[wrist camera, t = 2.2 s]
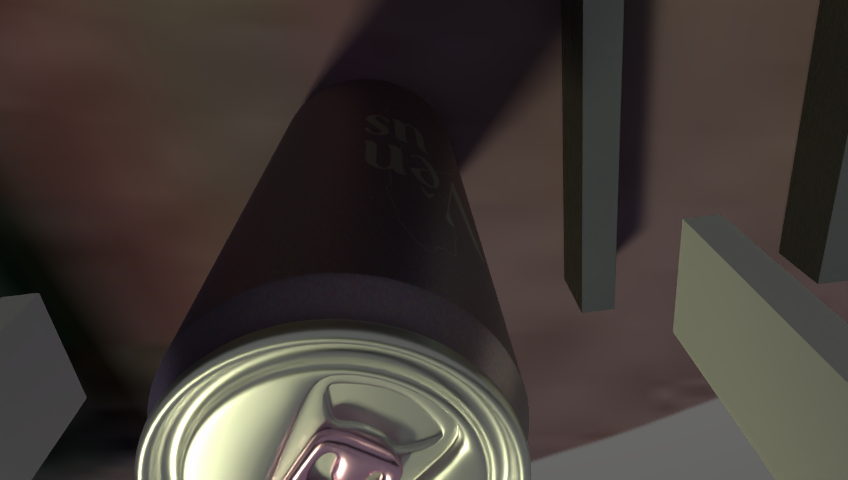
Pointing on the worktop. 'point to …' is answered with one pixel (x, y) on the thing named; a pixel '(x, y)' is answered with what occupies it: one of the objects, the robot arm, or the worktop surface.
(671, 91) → the worktop surface
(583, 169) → the lane
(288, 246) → the beverage can
